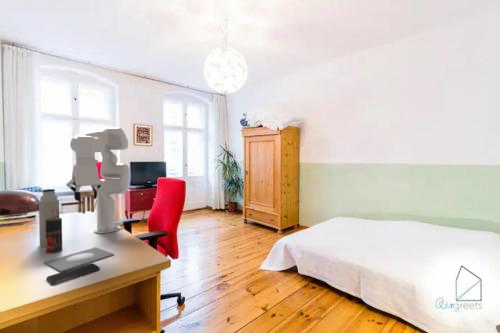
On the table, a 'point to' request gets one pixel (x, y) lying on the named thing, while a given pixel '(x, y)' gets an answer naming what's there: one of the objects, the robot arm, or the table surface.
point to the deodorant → (53, 235)
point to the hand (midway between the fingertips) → (86, 199)
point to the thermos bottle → (47, 212)
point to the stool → (88, 195)
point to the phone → (72, 274)
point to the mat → (78, 259)
